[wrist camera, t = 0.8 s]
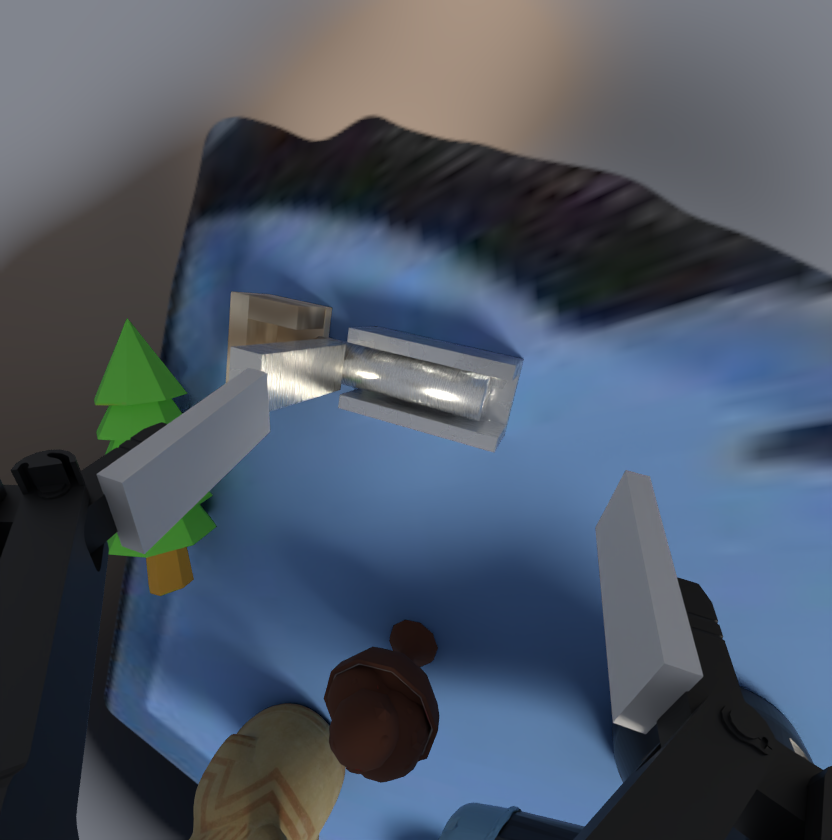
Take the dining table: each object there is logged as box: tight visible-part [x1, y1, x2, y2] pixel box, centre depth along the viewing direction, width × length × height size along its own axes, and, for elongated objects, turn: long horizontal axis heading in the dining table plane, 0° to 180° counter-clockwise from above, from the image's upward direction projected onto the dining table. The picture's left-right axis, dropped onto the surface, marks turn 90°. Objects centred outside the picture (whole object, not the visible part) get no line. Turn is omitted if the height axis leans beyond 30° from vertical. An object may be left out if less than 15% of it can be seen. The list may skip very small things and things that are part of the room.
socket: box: [226, 292, 332, 383], centre depth 42 cm, size 9×7×6 cm
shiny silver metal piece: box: [229, 336, 492, 421], centre depth 33 cm, size 4×16×15 cm, turn 79°
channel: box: [338, 326, 524, 452], centre depth 38 cm, size 7×14×6 cm, turn 79°
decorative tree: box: [94, 319, 217, 596], centre depth 47 cm, size 11×12×30 cm
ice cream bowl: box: [324, 620, 439, 783], centre depth 41 cm, size 11×11×15 cm
